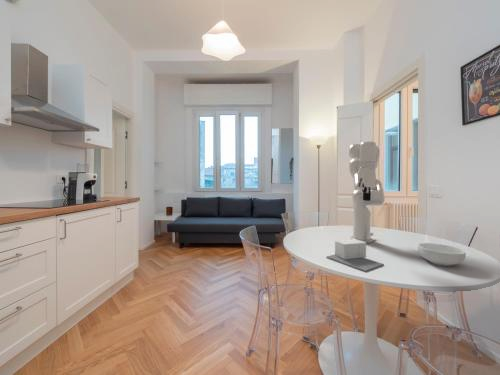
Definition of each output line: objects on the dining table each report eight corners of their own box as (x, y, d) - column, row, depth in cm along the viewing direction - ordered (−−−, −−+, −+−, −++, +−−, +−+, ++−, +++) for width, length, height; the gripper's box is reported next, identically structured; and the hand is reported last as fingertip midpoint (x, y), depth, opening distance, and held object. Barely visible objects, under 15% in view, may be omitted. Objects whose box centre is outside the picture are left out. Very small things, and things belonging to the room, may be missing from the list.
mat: (344, 252, 120) (344, 251, 120) (383, 265, 103) (383, 263, 103) (326, 257, 113) (326, 256, 113) (365, 271, 96) (365, 270, 96)
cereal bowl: (475, 271, 96) (476, 255, 96) (430, 268, 100) (430, 252, 99) (449, 257, 113) (449, 243, 112) (411, 255, 116) (411, 241, 116)
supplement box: (355, 238, 119) (334, 240, 115) (366, 242, 112) (344, 244, 108) (355, 252, 119) (334, 254, 115) (366, 257, 112) (344, 260, 108)
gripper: (368, 166, 128) (368, 199, 129) (352, 165, 121) (351, 200, 121) (382, 165, 122) (381, 200, 123) (365, 165, 114) (365, 202, 115)
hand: (366, 200), depth 122 cm, fingers closed
